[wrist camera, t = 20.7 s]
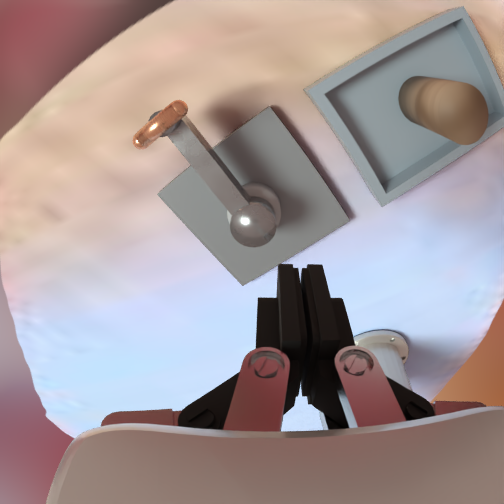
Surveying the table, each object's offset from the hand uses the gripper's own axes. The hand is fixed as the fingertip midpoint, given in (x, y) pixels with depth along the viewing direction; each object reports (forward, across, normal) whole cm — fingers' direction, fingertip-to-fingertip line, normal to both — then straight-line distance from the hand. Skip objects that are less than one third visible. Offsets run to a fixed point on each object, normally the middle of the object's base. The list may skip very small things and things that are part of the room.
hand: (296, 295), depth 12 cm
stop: (+20, -14, -8) cm, 25 cm away
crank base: (+21, +2, +4) cm, 21 cm away
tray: (+21, -14, -8) cm, 26 cm away
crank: (+17, +5, 0) cm, 18 cm away
